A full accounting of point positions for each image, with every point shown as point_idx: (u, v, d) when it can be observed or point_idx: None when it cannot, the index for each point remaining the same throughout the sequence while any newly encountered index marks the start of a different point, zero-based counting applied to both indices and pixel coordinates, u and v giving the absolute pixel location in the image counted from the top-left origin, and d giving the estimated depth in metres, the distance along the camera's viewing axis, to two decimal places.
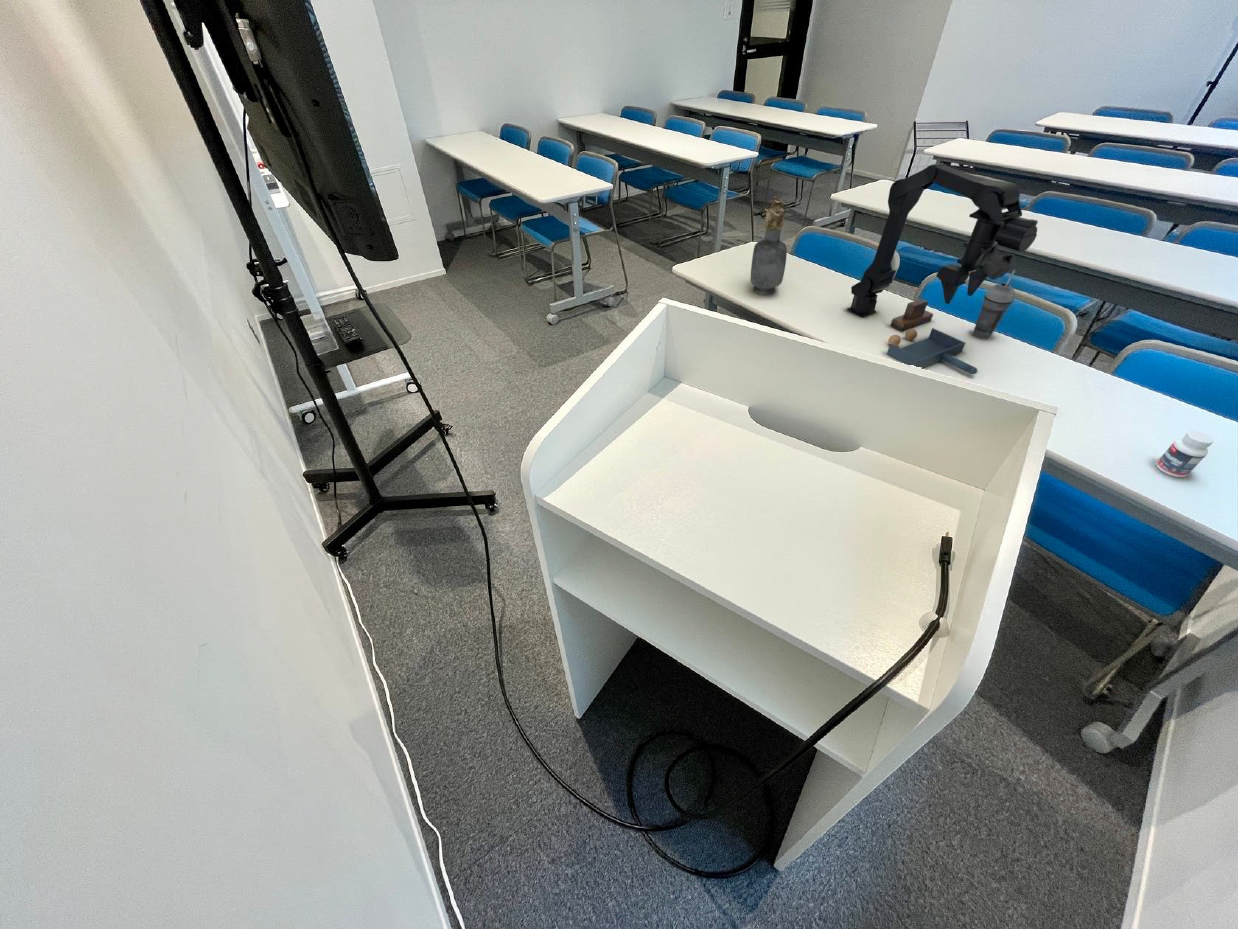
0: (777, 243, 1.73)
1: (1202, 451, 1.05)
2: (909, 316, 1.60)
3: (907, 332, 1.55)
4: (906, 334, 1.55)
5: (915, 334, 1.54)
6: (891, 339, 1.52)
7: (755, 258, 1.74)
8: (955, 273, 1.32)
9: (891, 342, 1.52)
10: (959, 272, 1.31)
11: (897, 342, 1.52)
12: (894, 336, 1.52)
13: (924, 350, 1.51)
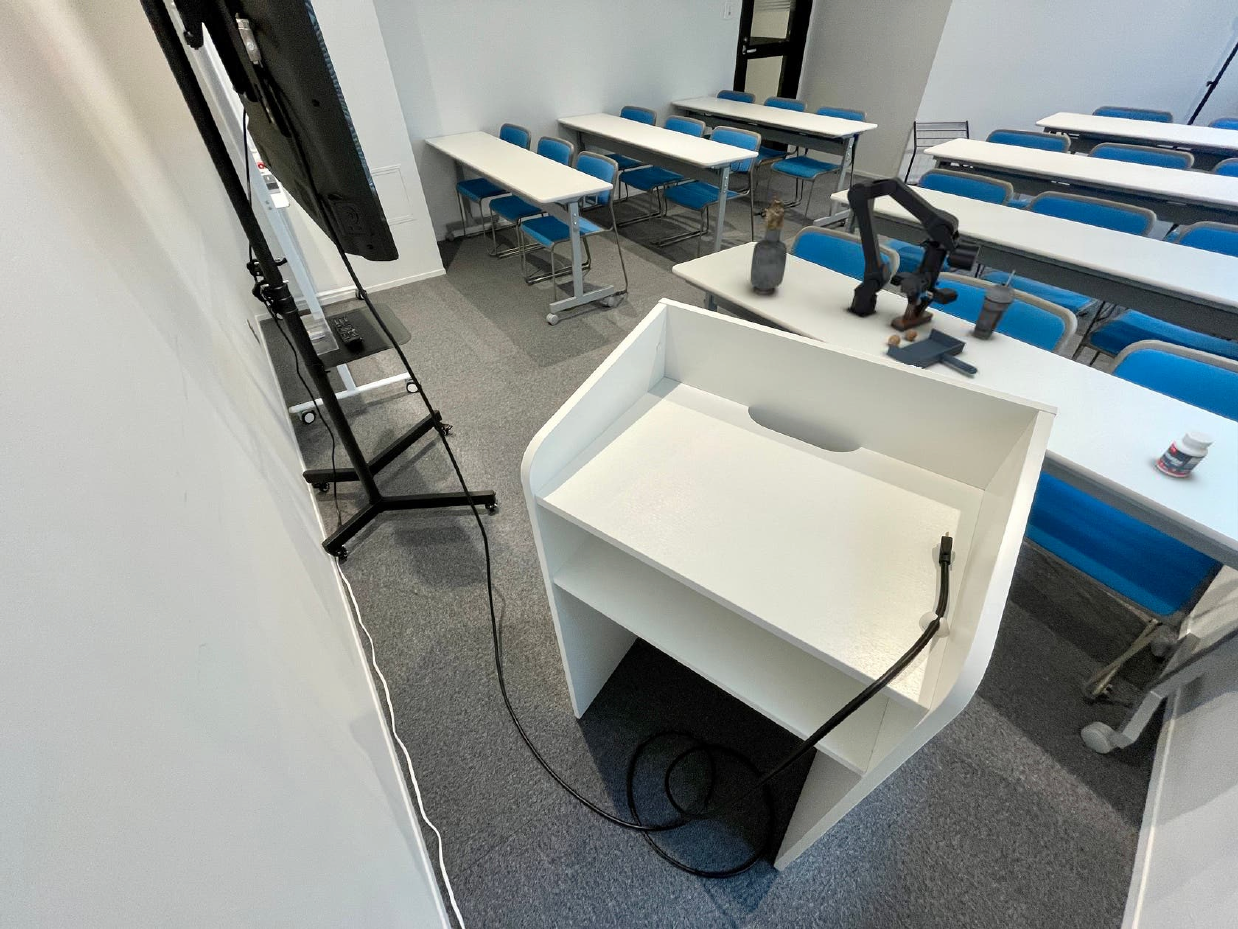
0: (777, 243, 1.73)
1: (1202, 450, 1.05)
2: (909, 316, 1.60)
3: (907, 332, 1.55)
4: (906, 334, 1.55)
5: (915, 334, 1.54)
6: (891, 339, 1.52)
7: (755, 258, 1.74)
8: (894, 275, 1.61)
9: (891, 342, 1.52)
10: (894, 275, 1.60)
11: (897, 342, 1.52)
12: (894, 336, 1.52)
13: (924, 350, 1.51)
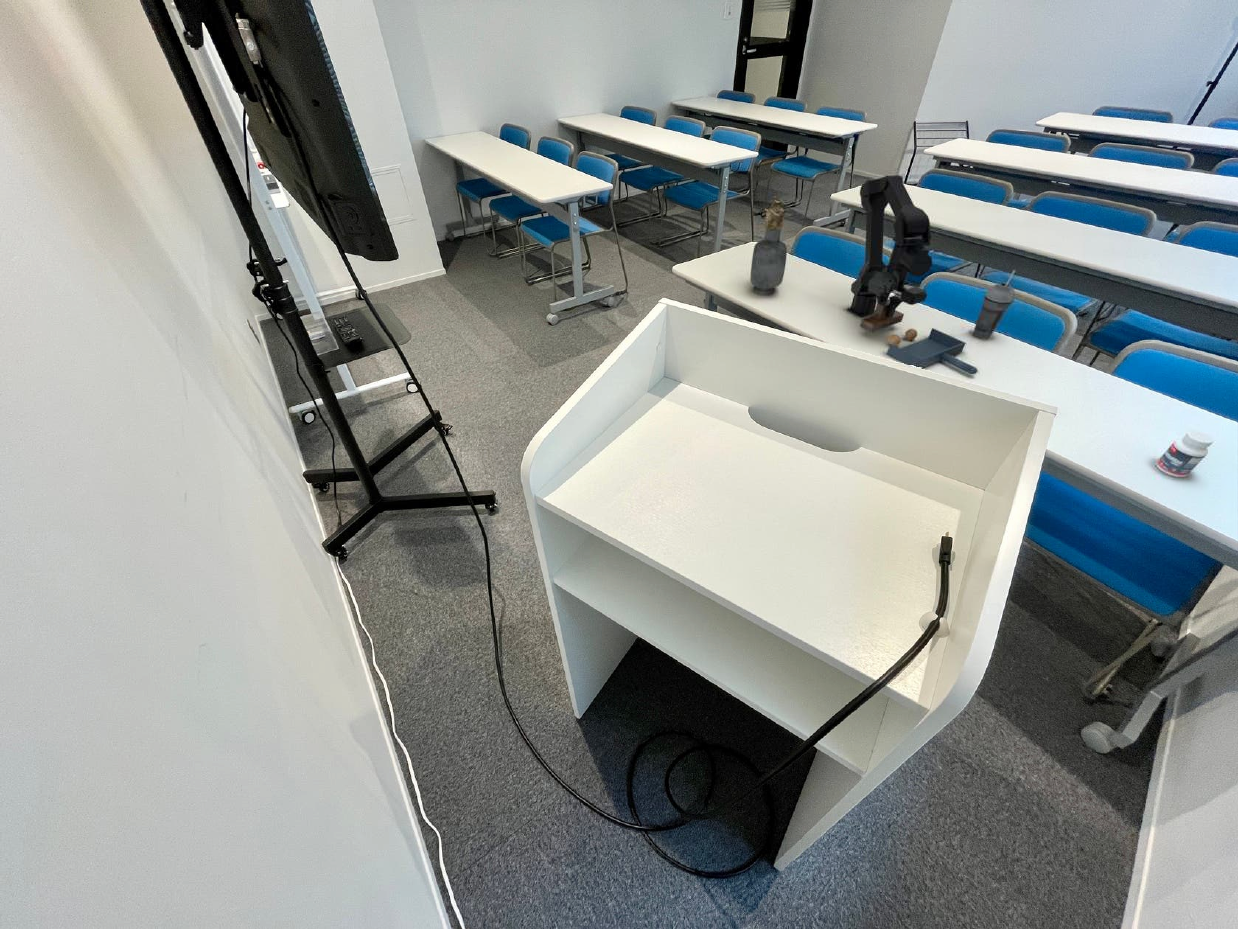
0: (777, 243, 1.73)
1: (1202, 450, 1.05)
2: (878, 316, 1.55)
3: (907, 332, 1.55)
4: (906, 334, 1.55)
5: (915, 334, 1.54)
6: (891, 339, 1.52)
7: (755, 258, 1.74)
8: (863, 274, 1.56)
9: (891, 342, 1.52)
10: (863, 274, 1.56)
11: (897, 342, 1.52)
12: (894, 336, 1.52)
13: (924, 350, 1.51)
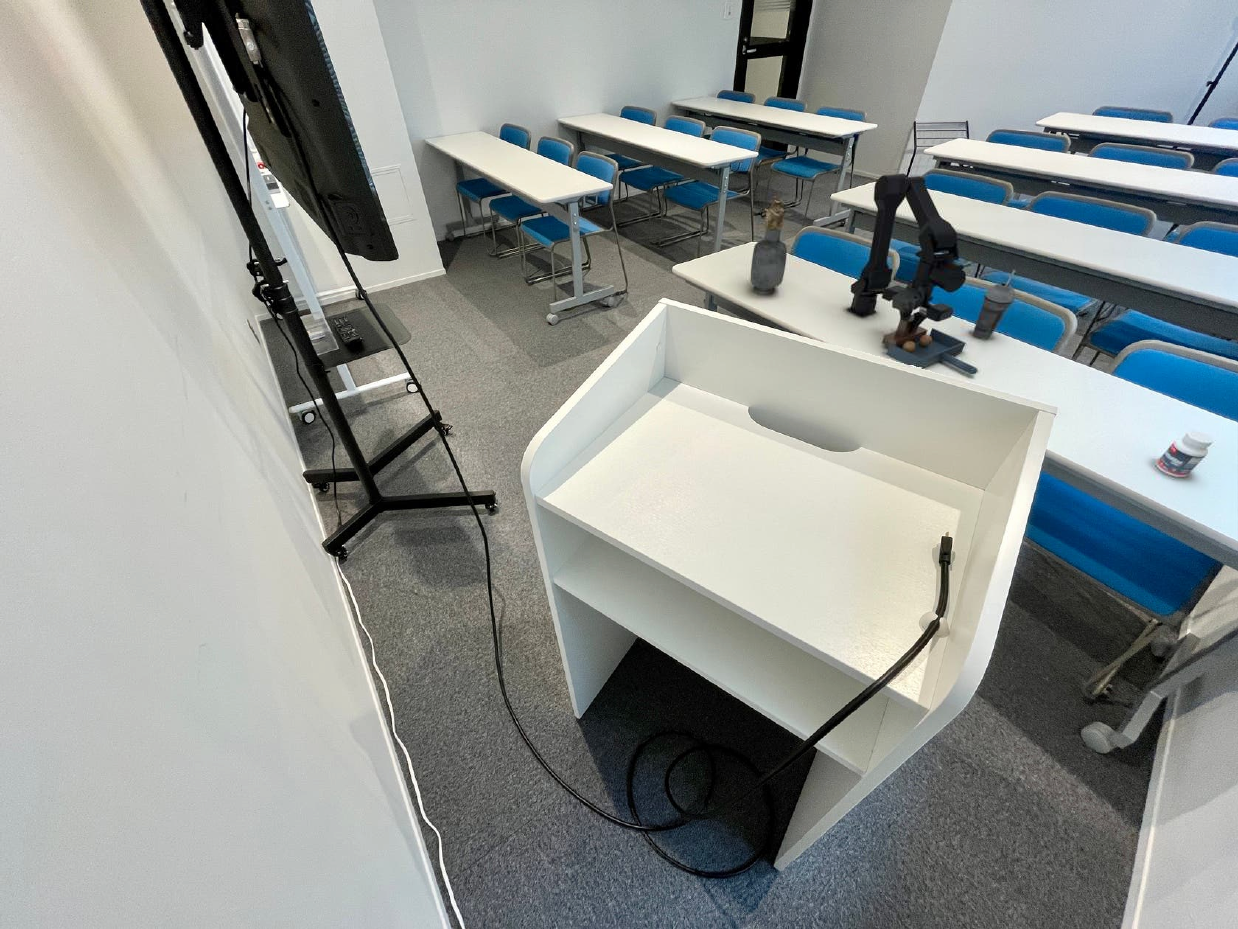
0: (777, 243, 1.73)
1: (1202, 450, 1.05)
2: (902, 333, 1.50)
3: (923, 344, 1.51)
4: (923, 342, 1.51)
5: None
6: (905, 350, 1.49)
7: (755, 258, 1.74)
8: (886, 289, 1.52)
9: (904, 347, 1.49)
10: (886, 289, 1.51)
11: None
12: None
13: (924, 350, 1.51)
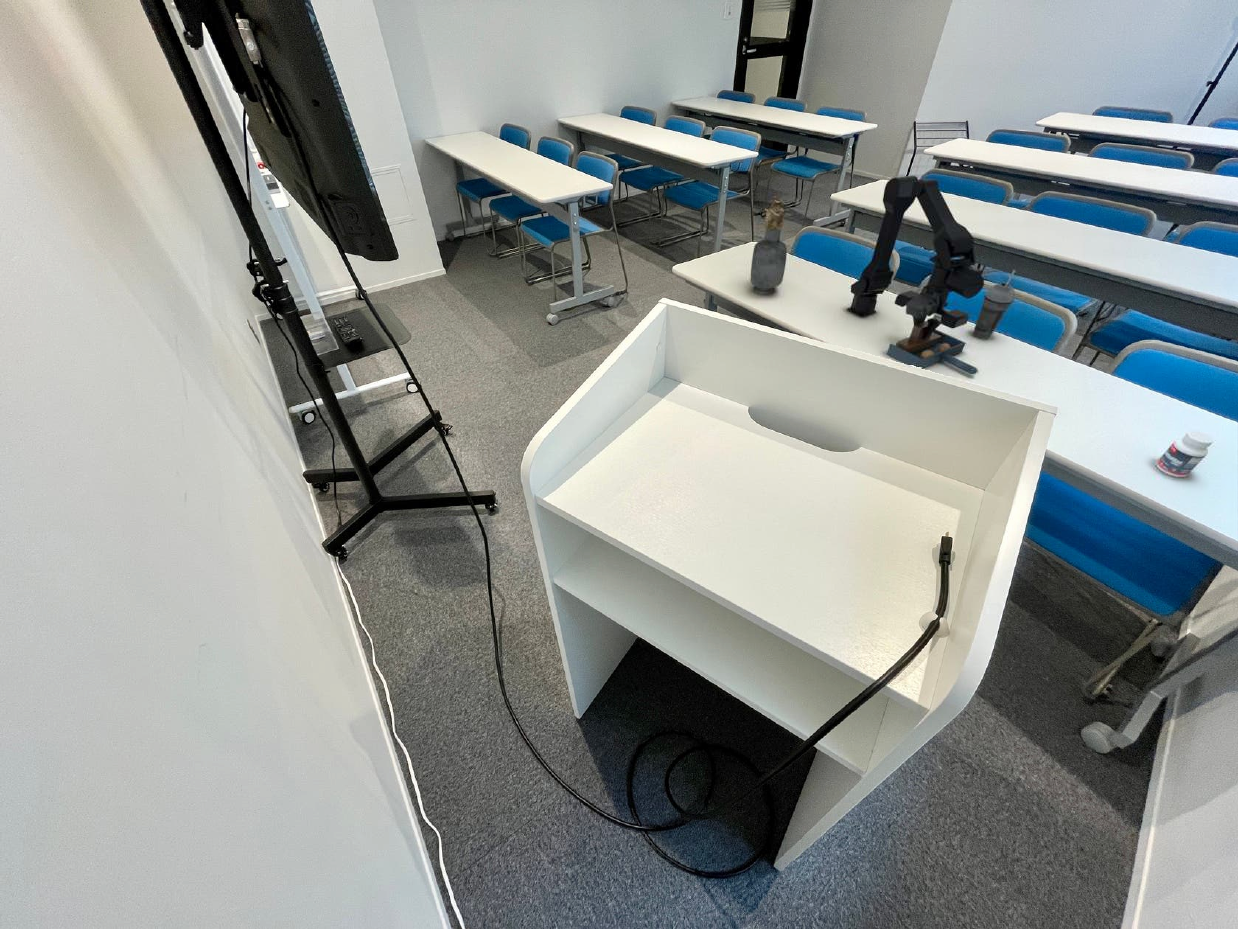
0: (777, 243, 1.73)
1: (1202, 450, 1.05)
2: (915, 339, 1.47)
3: (942, 347, 1.47)
4: (940, 348, 1.47)
5: None
6: (925, 355, 1.44)
7: (755, 258, 1.74)
8: (899, 294, 1.48)
9: None
10: (899, 294, 1.48)
11: None
12: (929, 353, 1.44)
13: (924, 350, 1.51)
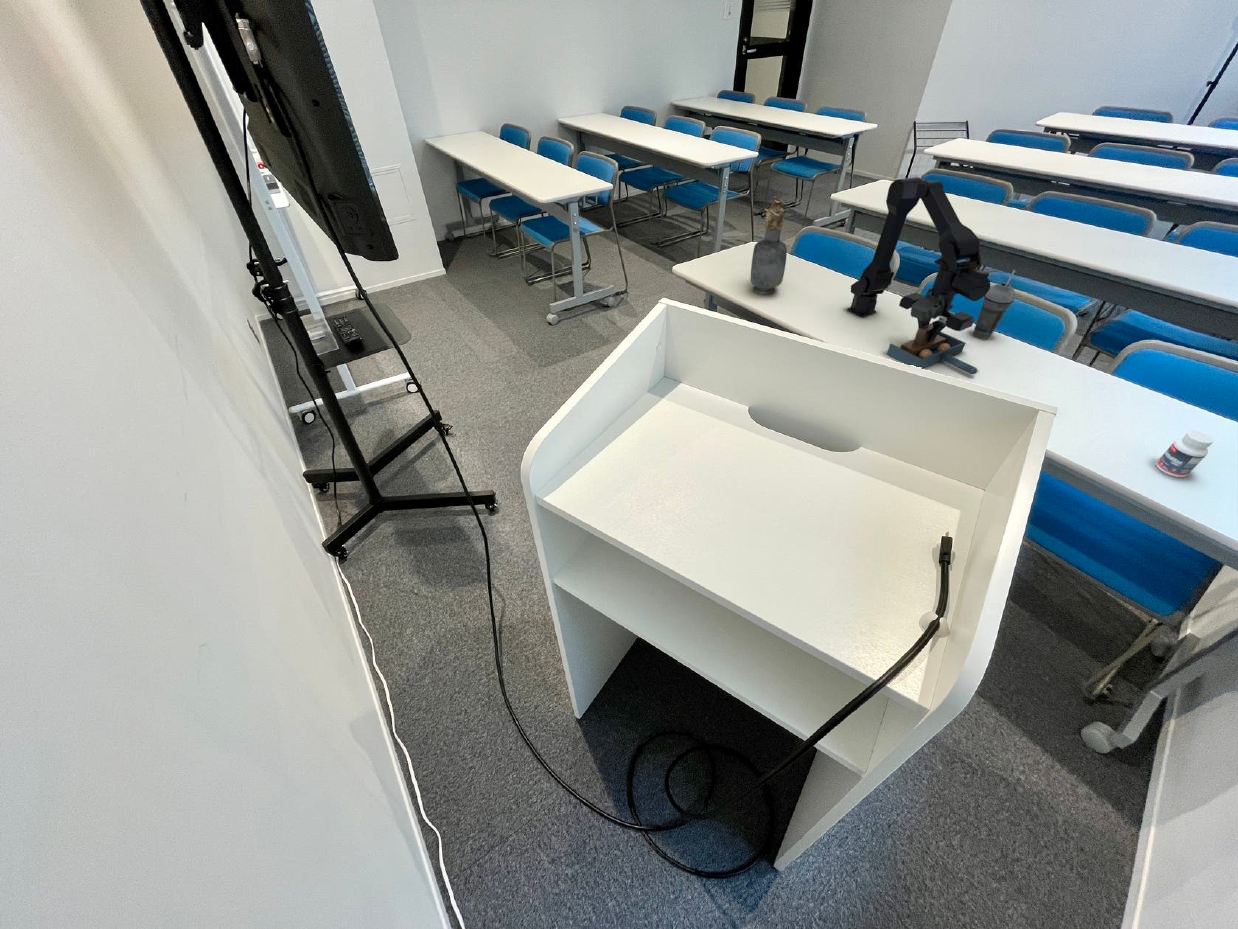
0: (777, 243, 1.73)
1: (1202, 451, 1.05)
2: (920, 342, 1.46)
3: (942, 347, 1.47)
4: (940, 348, 1.47)
5: None
6: (922, 354, 1.45)
7: (755, 258, 1.74)
8: None
9: (922, 357, 1.45)
10: (904, 296, 1.47)
11: None
12: (926, 351, 1.45)
13: None
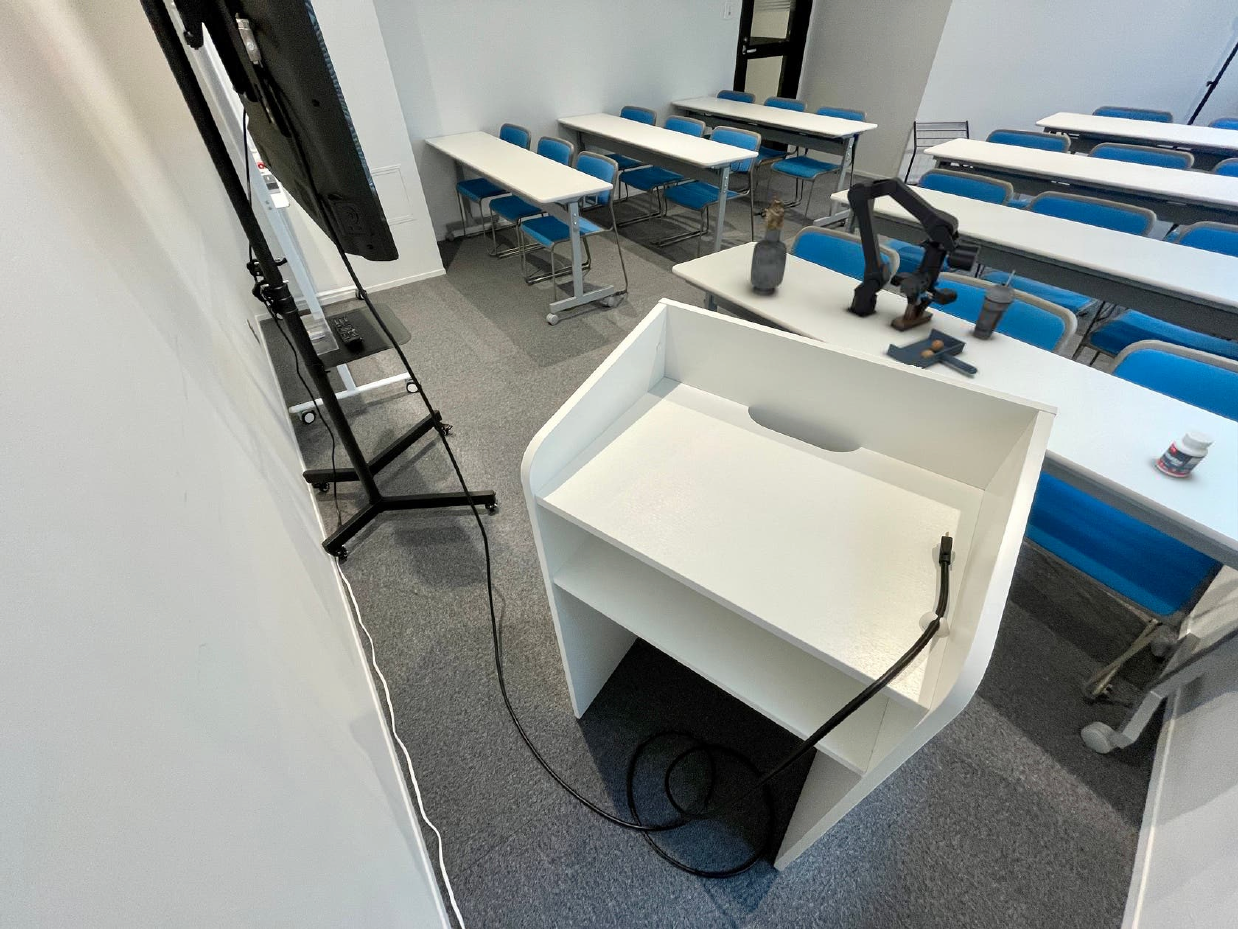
0: (777, 243, 1.73)
1: (1202, 451, 1.05)
2: (909, 316, 1.60)
3: (931, 345, 1.49)
4: (932, 347, 1.49)
5: (939, 341, 1.48)
6: (925, 355, 1.44)
7: (755, 258, 1.74)
8: (894, 275, 1.61)
9: None
10: (894, 275, 1.60)
11: None
12: (929, 353, 1.44)
13: (924, 350, 1.51)
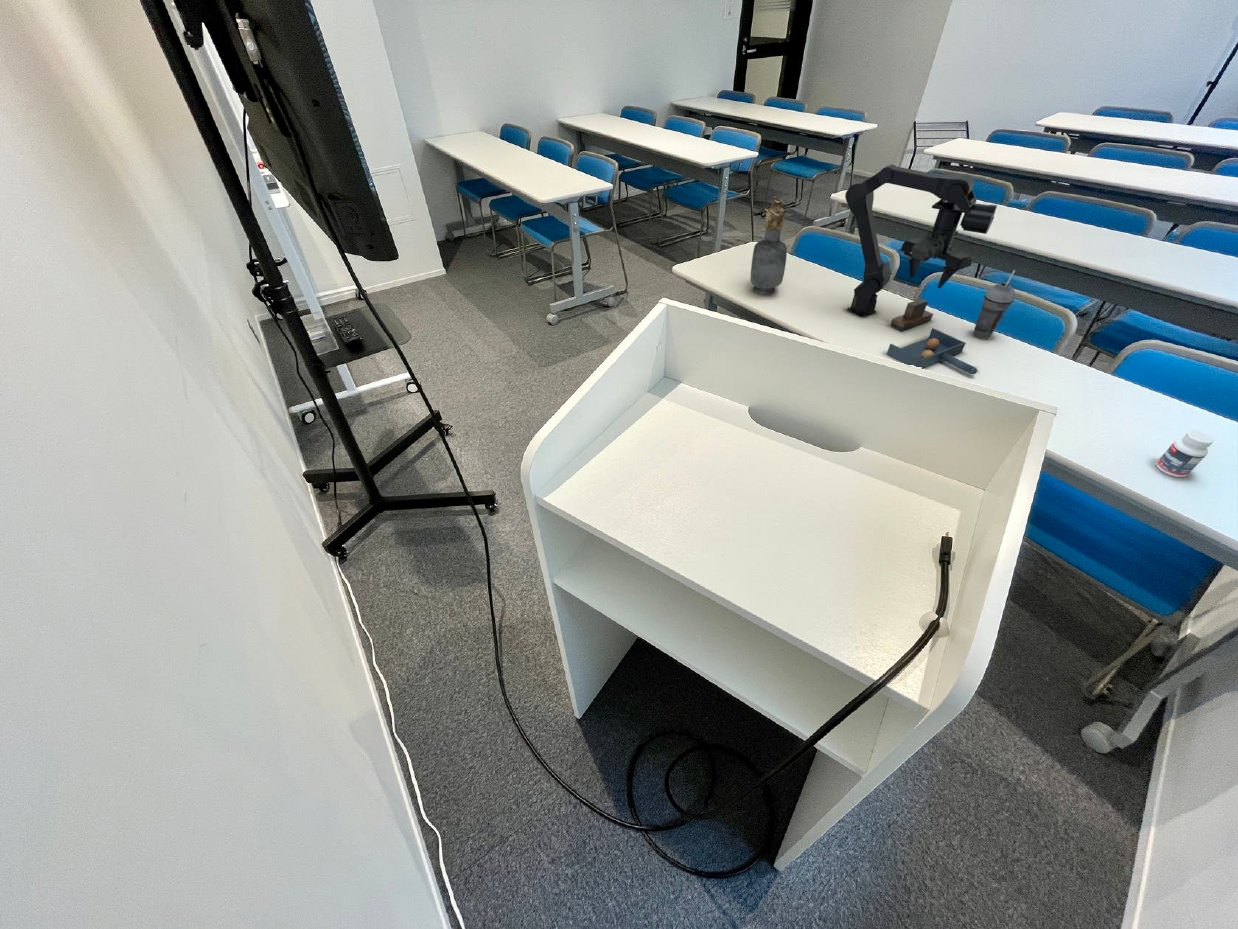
0: (777, 243, 1.73)
1: (1202, 451, 1.05)
2: (909, 316, 1.60)
3: (927, 345, 1.51)
4: (928, 346, 1.50)
5: (931, 338, 1.50)
6: (925, 355, 1.44)
7: (755, 258, 1.74)
8: (905, 241, 1.54)
9: None
10: (905, 241, 1.53)
11: None
12: (929, 353, 1.44)
13: (924, 350, 1.51)
